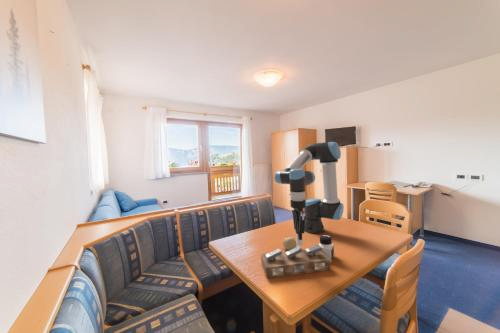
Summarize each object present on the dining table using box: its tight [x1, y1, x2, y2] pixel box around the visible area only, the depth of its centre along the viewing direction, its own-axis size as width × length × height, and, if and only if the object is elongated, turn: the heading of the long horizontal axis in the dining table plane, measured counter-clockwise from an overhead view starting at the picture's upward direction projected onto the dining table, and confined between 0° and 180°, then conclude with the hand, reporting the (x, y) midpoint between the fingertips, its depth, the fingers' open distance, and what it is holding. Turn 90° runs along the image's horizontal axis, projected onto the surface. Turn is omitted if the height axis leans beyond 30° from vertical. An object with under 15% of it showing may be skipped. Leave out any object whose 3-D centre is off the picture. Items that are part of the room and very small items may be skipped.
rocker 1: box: [265, 248, 283, 261], centre depth 99 cm, size 8×3×2 cm, turn 97°
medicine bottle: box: [318, 234, 335, 263], centre depth 108 cm, size 7×7×12 cm
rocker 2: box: [285, 246, 303, 258], centre depth 100 cm, size 8×3×2 cm, turn 97°
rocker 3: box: [305, 244, 322, 255], centre depth 102 cm, size 8×3×2 cm, turn 97°
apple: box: [282, 236, 297, 251], centre depth 120 cm, size 8×8×8 cm
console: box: [260, 248, 331, 279], centre depth 101 cm, size 32×13×6 cm, turn 97°
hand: (299, 244), depth 101 cm, fingers closed
